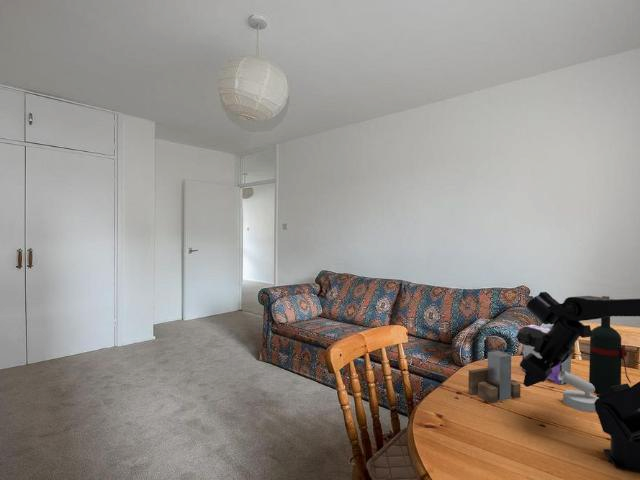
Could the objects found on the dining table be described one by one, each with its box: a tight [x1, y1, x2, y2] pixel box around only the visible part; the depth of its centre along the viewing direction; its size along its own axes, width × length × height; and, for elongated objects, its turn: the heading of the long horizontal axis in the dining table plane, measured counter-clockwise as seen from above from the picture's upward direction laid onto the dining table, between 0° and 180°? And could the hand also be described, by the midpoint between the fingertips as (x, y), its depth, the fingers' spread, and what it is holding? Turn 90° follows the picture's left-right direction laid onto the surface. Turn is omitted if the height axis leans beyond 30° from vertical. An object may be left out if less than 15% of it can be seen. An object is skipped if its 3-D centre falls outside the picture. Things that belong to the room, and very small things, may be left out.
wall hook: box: [558, 370, 598, 413], centre depth 102 cm, size 9×10×10 cm
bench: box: [468, 366, 521, 404], centre depth 108 cm, size 8×14×7 cm, turn 110°
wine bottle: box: [588, 295, 632, 395], centre depth 110 cm, size 8×10×30 cm
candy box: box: [521, 324, 572, 385], centre depth 123 cm, size 14×6×16 cm, turn 25°
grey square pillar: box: [487, 350, 512, 402], centre depth 107 cm, size 4×4×13 cm
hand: (532, 378), depth 97 cm, fingers open, 9 cm apart
